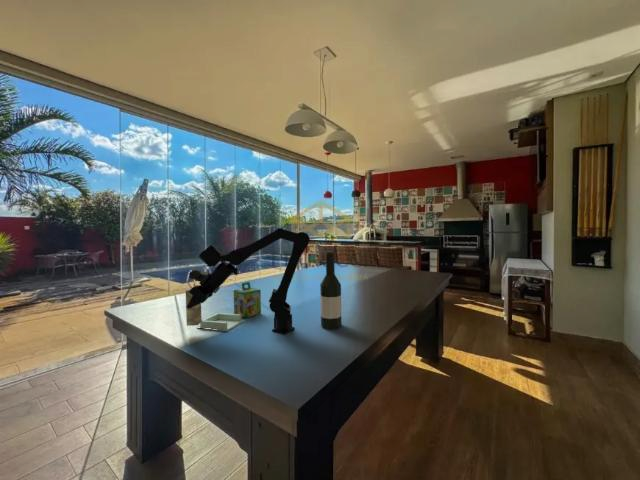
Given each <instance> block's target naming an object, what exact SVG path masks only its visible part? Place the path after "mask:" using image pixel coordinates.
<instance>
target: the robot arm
mask: <svg viewBox="0 0 640 480" xmlns="http://www.w3.org/2000/svg"><path fill="white" fill-rule="evenodd" d="M282 239H283V240H285V241H288V242H293V244H292V249H291V254H290V256H289V259H288V262H287V264H286V268H285V270H284V272H283V276H282V278H281V279H280V280H281V281H280V283H279V285H278V287H277V289H275V288H273V289H272V293H271V296H270V297H269V300H268V303H269V309H270V311H271V312H273V313H274V315H273V316H274V317H273V329H271V332H274V333H278V334H283V335H286V334H288V333H289V332H291V331H293V330H295V326H293V314H292V313H291V311H292V310H291V309H292V308H291V305H290V304H289V303H288V302H287V301H286V300H287V297H288V291H289V288H290V285H291V283H292V280H293V278H294V274H295V273H296V270H297V266H298V264H299V261H300V259H301V256H302V255H303V253H304V252H305V250H306V248H307V247H308V245H309V244H310V235H309V234H308V233H306V232H304V231H299V232H294V231H290V230H286V229H284V228H282V227H279V228H276V230H274V231H272V232H270V233H268V234H267V235H265V236H263V237H261V238H259V239H257V240H256V241H254V242H252V243H250V244H248V245H245V246H242V247H240V248H236V249H233V250H231V251H230V252H229V253H222V252H221V251H220V250H219V249H218V248H217V247H216V246H215V245H214V244H210V245H209V246H208V247H207V248H205V249H204V250H202V252H200V254H199V255H198V257H197V258H199V259H200V260H201V261H202V262H203V263H204V264H205V265H206V266H207V267H209V268H212V267H213V268H214V269H213V271H210V273H208V272H207V271H204V270H202V269H199V268H197V267H195V268H193V269H191V271H190V272H189V275H188V278H189V279H190V280H195V281H196V282H198V285H194V286H193V287H190V288H191V289H190V291H189V293H190V294H191V295H192V298H191V300H190V302H189V303H188V305H187V308H188V309H189V308H192V307H194V306H196V305H198V304H200V303H201V304H204V303H205V302H206V301H207V300H208V299H209V298H210V297H212V296H214V294H216V293H217V292H218V291H219V290H220V288H221V286H222V285H223V284H224V283H225V282H226V280H228V279H229V277H230V276H231V275H232V274H234V275H235V276H238V275H239V274H240V271H239V269H240V267H236V266H239V265H241V264H243V263H244V262H245V261H246V260H248V259H250V257H252V256H253V255H254V254H255V253H257V252H258V251H260V250H262V249H264V248H266V247H268V246H270V245H271V244H273V243H275V242H276V241H278V240H282ZM215 267H216V268H215Z"/></svg>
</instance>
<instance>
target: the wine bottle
mask: <svg viewBox="0 0 640 480" xmlns="http://www.w3.org/2000/svg"><path fill="white" fill-rule="evenodd" d="M335 270H336V268H335V252H334V251H333V250H327V251H326V253H325V276H324V277H323V279H322V281H321V283H320V286H319V287H320V325H321V328H322V329H325V330H338V329H340V328H341V327H342V285H341V283H340V281H339V279H338V278H337V276H336V273H335Z"/></svg>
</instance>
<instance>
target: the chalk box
mask: <svg viewBox="0 0 640 480" xmlns="http://www.w3.org/2000/svg"><path fill="white" fill-rule="evenodd" d="M245 286H247V287H245ZM261 294H262V293H261V289H259V288H258V289H257V288H253V287H252V288H251V283H250V281H246V282H242V283H241V288H240V289H234V290H233V314H241V318H245V319H248V318H250V317H253V316H257V315H260V313H261V314H262V305H261V303H262V300H261V299H262V296H261Z"/></svg>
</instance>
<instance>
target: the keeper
mask: <svg viewBox="0 0 640 480" xmlns="http://www.w3.org/2000/svg"><path fill="white" fill-rule="evenodd" d="M244 322H245V319H242V317H241V314H234V313H226V312H225V313H224V312H217V313H215V314H212V315H210V316H208V317H206V318H204V319H202V322H201V323H200V324H199V325H197V327H200V328H211V329H217V330H216V331H219V330H223V331H222V332H229V331H231V330H233V328H235V327H237V326H239V325H240V323H241V324H242V323H244ZM230 329H231V330H230Z"/></svg>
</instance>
